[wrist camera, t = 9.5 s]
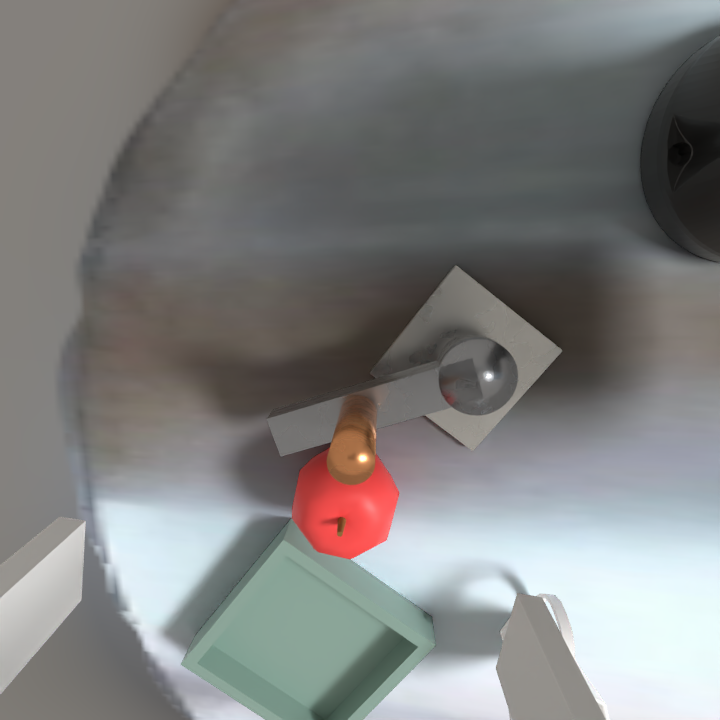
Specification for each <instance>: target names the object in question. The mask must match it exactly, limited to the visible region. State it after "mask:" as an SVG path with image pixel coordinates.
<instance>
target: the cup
mask: <svg viewBox="0 0 720 720" xmlns="http://www.w3.org/2000/svg"><path fill="white" fill-rule="evenodd" d="M537 597H542V599H543V600H544V602H546V601H548V602H549V603H550V605H551V607H552V609H553V612H554V614H555V617H556V620H557V623H558V626H559V630H560V633H561V635H562V637H563V639H564V640H565V642H566V644H567V646H568V648H569V650H570V652H571V654H572V656H573V658H574V660H575V645H574V639H573V633H572V629H571V626H570V623H569V620H568V617H567V614H566V612H565V610H564V607H563V605H562V603H561V601H560V600H559V599H558V598H557V597H556V596H555V595H550V594H539V595H537ZM509 620H510V618H509V619H508V621H507V622H506V623H505V625H504V626H503V627H502V629H501V630H500V634H501V638H502V641H504V638H505V634H506V631H507V627H508V624H509ZM502 644H503V642H502ZM575 661H576V660H575ZM576 663H577V662H576ZM577 665H578V663H577ZM578 667H579V669H580V671H581V673H582V675H583V677H584V679H585V681H586V682H587V684H588V686H589V688H590V690H591V692H592V694H593V696H594V698H595V700H596V702H597V703H598V705H599V707H600V709H601V711H602V713H603V715H604V717H605V719H606V720H609V716H608V712H607V708H606V703H605V702H604V700H603V699H602V698H601V696H600V695H599V693H598V692H597V690H596V689H595V687H594V686H593V685H592V683H591V682H590V680H589V679H588V678H587V676H586V675H585V673H584V672H583V670H582V669H581V668H580V666H579V665H578ZM508 709H509V708H508ZM509 716H510V720H512V718H511V715H510V711H509Z"/></svg>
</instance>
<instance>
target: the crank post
mask: <svg viewBox="0 0 720 720" xmlns="http://www.w3.org/2000/svg"><path fill="white" fill-rule="evenodd" d="M472 334H473V335H482V336H486V337H488V338H491V339H492V340H494V341H496V342H497V343H498V344H500V345H501V346H503V347H504V348H505V349H506V350H507V351H508V352H509V353H510V354H511V355H512V357H513V358H514V360H515V363H516V365H517V370H518V382H517V387H516V389H515V392H514V394H513V396H512V397H511V398H510V400H509V401H508V402H507V403H506V404H505V405H504V406H503V407H501V408H500V409H498V410H497V411H495V412H492V413H489V414H486V415H479V416H476V415H467V414H464V413H461V412H459V411H457V410H455V409H454V408H453V407H452V408H448V409H445V410H441V411H438V412H435V413H431V414H428V415H425V416H427V417H428V418H429V419H431V420H432V421H433V422H435V423H436V424H437V425H438V426H440V427H441V428H442V429H444V430H445V431H446V432H448V433H449V434H450V435H452V436H453V437H454V438H456V439H457V440H458V441H460V442H461V443H462V444H464V445H465V446H466V447H468V448H469V449H470V450H472V451H473V450H474V449H475V448H476V447H477V446H478V445H479V444H480V443H481V442H482V440H483V439H484V438H485V437H486V436H487V435H488V434H489V433H490V431H491V430H492V429H493V428H494V427H495V426H496V425H497V424H498V423H499V421H500V420H501V419H502V418H503V417H504V416H505V415H506V414H507V412H508V411H509V410H510V409H511V408H512V407H513V406H514V405H515V404H516V402H517V401H518V400H519V399H520V398H521V397H522V396H523V395H524V393H525V392H526V391H527V390H528V389H529V388H530V387H531V386H532V384H533V383H534V382H535V381H536V380H537V379H538V378H539V377H540V376H541V374H542V373H543V372H544V371H545V370H546V369H547V368H548V367H549V365H550V364H551V363H552V362H553V361H554V360H555V359H556V358H557V357H558V355H559V354H560V353H561V352H562V351H563V350H561V349H560V348H559V347H558V346H556V345H555V344H554V343H553V342H551V341H550V340H549V339H548V338H546V337H545V336H544V335H543V334H541V333H540V332H539V331H538V330H536V329H535V328H534V327H533V326H531V325H530V324H529V323H528V322H526V321H525V320H524V319H523V318H521V317H520V316H519V315H518V314H516V313H515V312H514V311H513V310H511V309H510V308H509V307H508V306H506V305H505V304H504V303H503V302H501V301H500V300H499V299H498V298H496V297H495V296H494V295H493V294H491V293H490V292H489V291H488V290H486V289H485V288H484V287H483V286H481V285H480V284H479V283H478V282H476V281H475V280H474V279H473V278H471V277H470V276H469V275H468V274H466V273H465V272H464V271H463V270H461V269H460V268H459V267H458V266H456V265H454V266H453V268H452V269H451V270H450V271H449V273H448V274H447V275H446V276H445V278H444V279H443V280H442V281H441V283H440V284H439V285H438V286H437V288H436V289H435V290H434V291H433V293H432V294H431V295H430V296H429V298H428V299H427V300H426V302H425V303H424V304H423V305H422V307H421V308H420V309H419V310H418V312H417V313H416V314H415V315H414V317H413V318H412V319H411V320H410V322H409V323H408V324H407V325H406V327H405V328H404V329H403V330H402V332H401V333H400V334H399V335H398V337H397V338H396V339H395V340H394V342H393V343H392V344H391V346H390V347H389V348H388V349H387V351H386V352H385V353H384V354H383V356H382V357H381V358H380V359H379V361H378V362H377V363H376V364H375V366H374V367H373V368H372V369H371V371H370V374H371V375H372V376H374V377H375V378H376V379H377V378H380V377H383V376H387V375H390V374H393V373H397V372H400V371H403V370H407V369H410V368H413V367H417V366H420V365H423V364H427V363H430V362H433V361H437V358H438V356H439V354H440V353H441V351H442V350H443V349H444V347H445V346H446V345H447V344H449V343H450V342H451V341H453V340H454V339H456V338H459V337H461V336H465V335H472Z"/></svg>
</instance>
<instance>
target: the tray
mask: <svg viewBox="0 0 720 720" xmlns="http://www.w3.org/2000/svg"><path fill="white" fill-rule="evenodd" d="M435 646H436V643H435V636H434V629H433V622H432V617H431V616H430V615H428V614H427V613H426V612H424V611H423V610H421V609H420V608H419V607H417V606H416V605H414V604H413V603H411V602H410V601H409V600H407V599H406V598H404V597H403V596H401V595H400V594H399V593H397V592H396V591H394V590H393V589H392V588H390V587H389V586H387V585H386V584H384V583H383V582H382V581H380V580H379V579H377V578H376V577H374V576H373V575H372V574H370V573H369V572H367V571H366V570H365V569H363V568H362V567H360V566H359V565H357V564H356V563H355V562H353V561H352V560H350V559H346V558H341V557H337V556H333V555H328V554H324V553H319V552H317V551H316V550H314V548H313V547H312V546H311V544H310V543H309V542H308V540H307V539H306V537H305V536H304V535H303V533H302V532H301V531H300V529H299V528H298V526H297V525H296V524H295V522H294V521H293V519H292V518H291V519H290V520H289V522H288V523H287V524H286V525H285V526H284V528H283V529H282V530H281V531H280V533H279V534H278V535H277V536H276V537H275V539H274V540H273V541H272V542H271V544H270V545H269V546H268V547H267V548H266V550H265V551H264V552H263V553H262V555H261V556H260V557H259V558H258V559H257V561H256V562H255V563H254V564H253V566H252V567H251V568H250V569H249V570H248V572H247V573H246V574H245V575H244V576H243V578H242V579H241V580H240V581H239V583H238V584H237V585H236V586H235V587H234V589H233V590H232V591H231V592H230V594H229V595H228V596H227V597H226V598H225V600H224V601H223V602H222V603H221V605H220V606H219V607H218V608H217V609H216V611H215V612H214V613H213V614H212V616H211V617H210V618H209V619H208V620H207V622H206V623H205V624H204V625H203V627H202V628H201V629H200V630H199V631H198V633H197V634H196V635H195V637H194V639H193V641H192V643H191V645H190V647H189V649H188V651H187V653H186V655H185V657H184V659H183V661H182V663H181V665H182V666H184V667H185V668H187V669H188V670H190V671H191V672H193V673H194V674H196V675H198V676H199V677H201V678H202V679H204V680H205V681H207V682H208V683H210V684H211V685H213V686H214V687H216V688H218V689H219V690H221V691H222V692H224V693H225V694H227V695H228V696H230V697H231V698H233V699H234V700H236V701H238V702H239V703H241V704H242V705H244V706H245V707H247V708H248V709H250V710H251V711H253V712H254V713H256V714H258V715H259V716H261V717H262V718H264V719H265V720H363V719H364V718H365V717H366V716H367V715H368V714H369V713H370V712H371V711H372V710H373V709H374V708H375V707H376V706H377V705H378V704H379V703H380V702H381V701H382V700H383V699H384V698H385V697H386V696H387V695H388V694H389V693H390V692H391V691H392V690H393V689H394V688H395V687H396V686H397V685H398V684H399V683H400V682H401V681H402V680H403V679H404V678H405V677H406V676H407V675H408V674H409V673H410V672H411V671H412V670H413V668H414V667H415V666H416V665H417V664H418V663H419V662H420V661H421V660H422V659H423V658H424V657H425V656H426V655H427V654H428V653H429V652H430V651H431V650H432V649H433V648H434V647H435Z"/></svg>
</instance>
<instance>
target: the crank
mask: <svg viewBox="0 0 720 720" xmlns="http://www.w3.org/2000/svg"><path fill="white" fill-rule="evenodd" d="M517 382H518V370H517V365H516V363H515V360H514V358H513V357H512V355H511V354H510V353H509V352H508V351H507V350H506V349H505V348H504V347H503V346H501V345H500V344H498V343H497V342H496V341H494V340H492V339H491V338H488V337H486V336H482V335H473V334H472V335H465V336H461V337H459V338H456V339H454V340H453V341H451V342H450V343H449V344H447V345H446V346H445V347H444V349H443V350H442V351H441V353H440V354H439V356H438V358H437V361H433V362H430V363H427V364H423V365H420V366H417V367H413V368H410V369H407V370H403V371H400V372H397V373H393V374H390V375H387V376H383V377H380V378H377V379H373V380H370V381H367V382H363V383H360V384H357V385H353V386H350V387H347V388H343V389H340V390H337V391H333V392H330V393H327V394H323V395H320V396H317V397H313V398H310V399H307V400H303V401H300V402H297V403H293V404H290V405H287V406H283V407H280V408H277V409H273V411H272V412H271V413H270V415H269V416H268V417H267V419H266V420H267V422H268V425H269V428H270V430H271V433H272V435H273V438H274V441H275V443H276V446H277V449H278V451H279V454H280V457H281V456H285V455H288V454H292V453H295V452H299V451H302V450H306V449H309V448H313V447H316V446H320V445H323V444H327V443H330V442H331V445H330V449H329V452H328V456H327V468H328V471H329V473H330V474H331V476H332V477H333V478H334V479H335V480H337V481H338V482H340V483H343V484H346V485H357V484H360V483H363V482H364V481H366V480H367V479H368V478H369V477H370V476H371V475H372V473H373V471H374V468H375V454H376V429H379V428H382V427H386V426H389V425H393V424H396V423H400V422H403V421H407V420H410V419H414V418H417V417H421V416H424V415H428V414H431V413H435V412H438V411H441V410H445V409H448V408H452V407H453V408H454V409H455V410H457V411H459V412H461V413H464V414H467V415H476V416H479V415H486V414H489V413H492V412H495V411H497V410H498V409H500V408H501V407H503V406H504V405H505V404H506V403H507V402H508V401H509V400H510V398H511V397H512V396H513V394H514V392H515V389H516V387H517Z"/></svg>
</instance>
